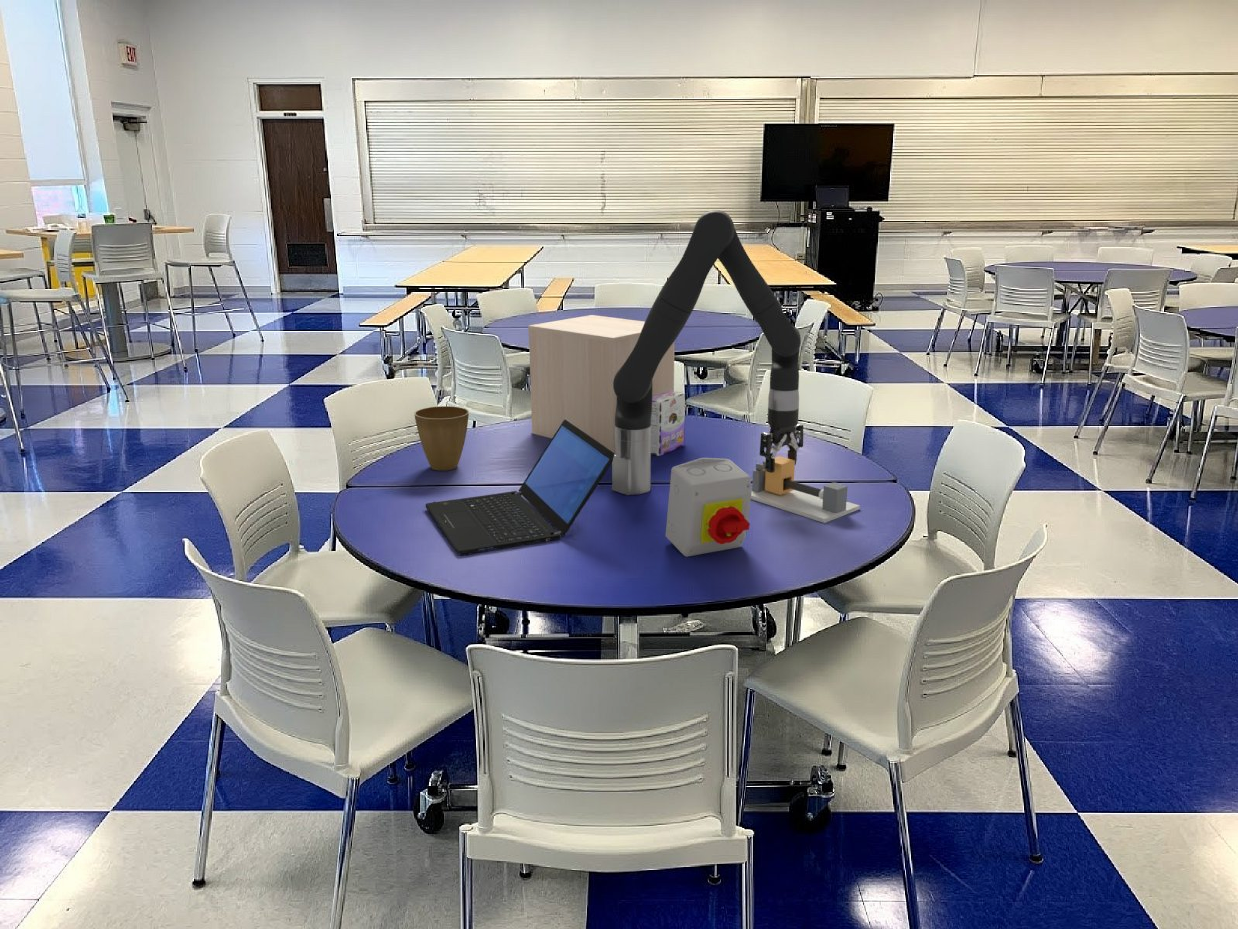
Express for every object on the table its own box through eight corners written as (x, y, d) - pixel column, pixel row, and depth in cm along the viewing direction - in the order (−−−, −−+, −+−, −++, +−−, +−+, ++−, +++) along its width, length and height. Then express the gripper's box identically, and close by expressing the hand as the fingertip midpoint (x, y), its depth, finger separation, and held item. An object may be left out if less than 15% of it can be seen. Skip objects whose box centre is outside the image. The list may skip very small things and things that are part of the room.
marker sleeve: (764, 490, 240) (766, 460, 238) (777, 485, 243) (779, 456, 241) (780, 494, 237) (781, 464, 234) (793, 490, 240) (794, 460, 238)
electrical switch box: (695, 576, 199) (704, 491, 190) (664, 542, 211) (672, 461, 202) (755, 564, 204) (766, 482, 196) (722, 532, 217) (731, 453, 208)
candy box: (668, 442, 288) (669, 390, 283) (685, 445, 285) (686, 392, 280) (643, 453, 278) (643, 398, 273) (660, 456, 274) (660, 401, 269)
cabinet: (674, 433, 298) (676, 325, 288) (614, 453, 277) (613, 337, 267) (593, 416, 320) (591, 314, 310) (531, 433, 299) (527, 325, 289)
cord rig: (744, 496, 240) (745, 466, 238) (779, 485, 249) (780, 455, 246) (824, 523, 222) (826, 490, 220) (859, 509, 231) (861, 477, 229)
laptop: (424, 510, 233) (419, 434, 227) (567, 490, 247) (566, 418, 241) (457, 558, 203) (452, 473, 198) (617, 533, 218) (617, 452, 212)
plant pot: (448, 478, 256) (445, 421, 251) (406, 470, 263) (402, 414, 258) (482, 463, 268) (479, 409, 263) (441, 456, 275) (438, 403, 270)
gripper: (776, 413, 226) (774, 477, 231) (813, 403, 235) (810, 465, 240) (752, 408, 232) (751, 471, 236) (789, 398, 241) (787, 459, 245)
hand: (781, 468), depth 238 cm, fingers open, 8 cm apart
